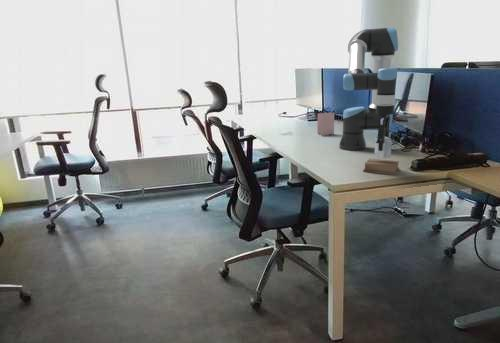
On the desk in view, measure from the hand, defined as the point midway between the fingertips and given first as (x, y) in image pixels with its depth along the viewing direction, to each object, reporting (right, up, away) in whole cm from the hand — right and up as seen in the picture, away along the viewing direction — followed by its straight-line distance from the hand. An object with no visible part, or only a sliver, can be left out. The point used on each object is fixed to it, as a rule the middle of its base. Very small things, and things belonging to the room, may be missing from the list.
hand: (382, 155), depth 169 cm
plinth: (0, -7, +2) cm, 7 cm away
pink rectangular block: (-7, +18, +92) cm, 94 cm away
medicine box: (0, -1, 0) cm, 1 cm away
